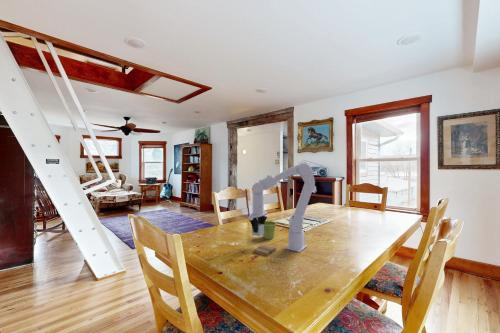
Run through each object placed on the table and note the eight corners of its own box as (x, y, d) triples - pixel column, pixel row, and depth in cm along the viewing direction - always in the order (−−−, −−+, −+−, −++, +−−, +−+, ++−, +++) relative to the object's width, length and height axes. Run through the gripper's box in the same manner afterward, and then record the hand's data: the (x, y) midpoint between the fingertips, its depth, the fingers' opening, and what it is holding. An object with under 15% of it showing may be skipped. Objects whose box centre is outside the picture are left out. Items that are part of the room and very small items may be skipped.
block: (257, 232, 124) (256, 223, 123) (264, 233, 121) (264, 224, 121) (251, 234, 120) (251, 225, 120) (259, 236, 117) (259, 226, 117)
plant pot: (274, 241, 129) (274, 225, 129) (258, 239, 132) (258, 224, 132) (278, 236, 138) (278, 221, 138) (262, 234, 141) (262, 220, 141)
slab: (262, 248, 120) (262, 244, 119) (275, 251, 115) (275, 247, 115) (253, 253, 113) (253, 249, 113) (267, 257, 108) (267, 253, 108)
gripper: (259, 202, 128) (259, 226, 128) (243, 206, 117) (243, 233, 117) (270, 203, 124) (270, 228, 124) (254, 208, 112) (255, 235, 113)
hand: (258, 231), depth 120 cm, fingers closed on block, 5 cm apart
